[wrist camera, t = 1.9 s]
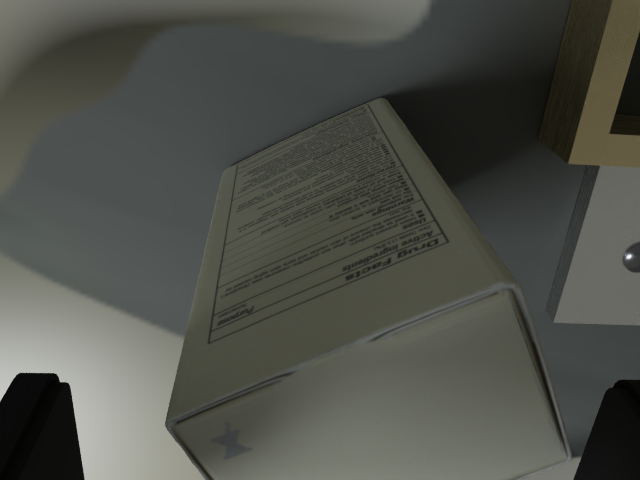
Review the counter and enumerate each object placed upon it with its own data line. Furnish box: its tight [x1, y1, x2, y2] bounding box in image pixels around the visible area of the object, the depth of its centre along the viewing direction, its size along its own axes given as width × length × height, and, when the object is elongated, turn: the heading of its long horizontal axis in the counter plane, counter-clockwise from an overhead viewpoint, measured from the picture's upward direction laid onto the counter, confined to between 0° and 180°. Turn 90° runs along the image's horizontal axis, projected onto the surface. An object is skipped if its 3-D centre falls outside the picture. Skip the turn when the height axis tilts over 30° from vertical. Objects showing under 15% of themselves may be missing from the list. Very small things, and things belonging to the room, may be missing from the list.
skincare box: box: [165, 98, 572, 480], centre depth 16 cm, size 6×4×12 cm
